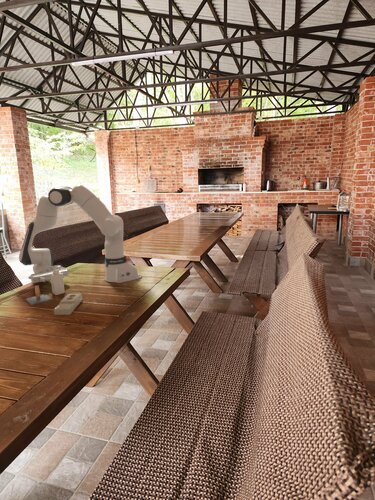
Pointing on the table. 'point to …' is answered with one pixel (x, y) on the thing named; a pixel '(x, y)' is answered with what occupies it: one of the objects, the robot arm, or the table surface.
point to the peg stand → (38, 297)
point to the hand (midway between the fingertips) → (53, 278)
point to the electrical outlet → (68, 304)
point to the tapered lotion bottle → (57, 282)
